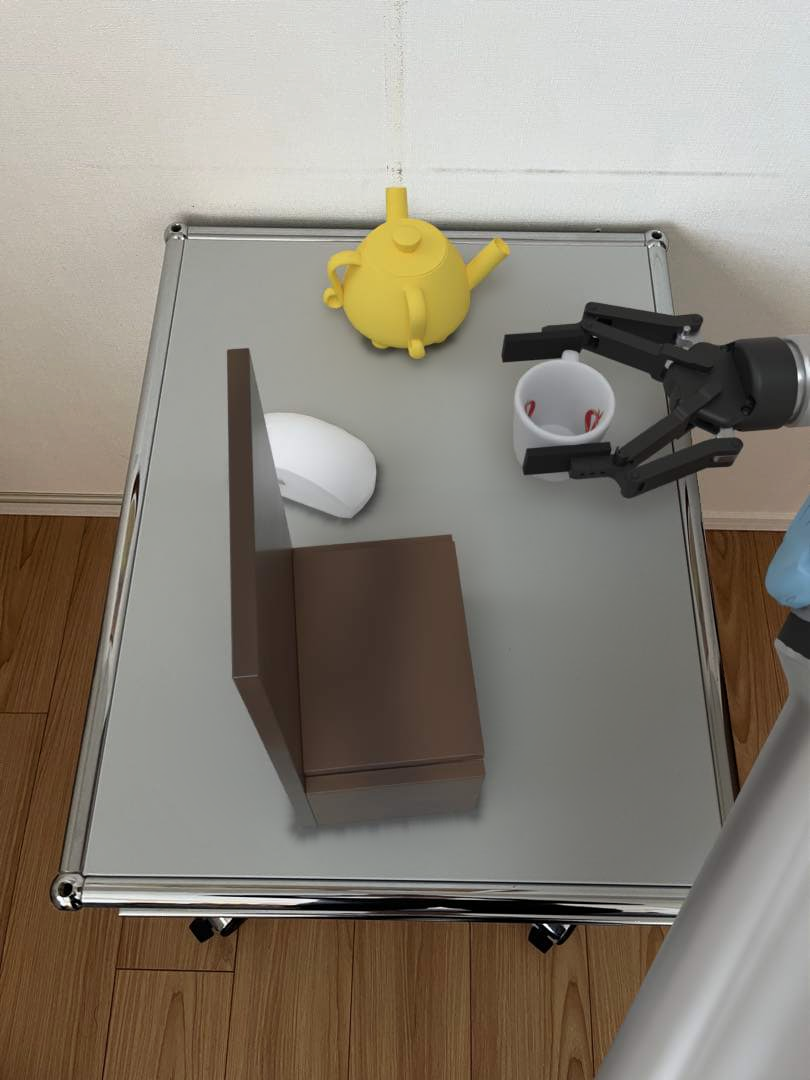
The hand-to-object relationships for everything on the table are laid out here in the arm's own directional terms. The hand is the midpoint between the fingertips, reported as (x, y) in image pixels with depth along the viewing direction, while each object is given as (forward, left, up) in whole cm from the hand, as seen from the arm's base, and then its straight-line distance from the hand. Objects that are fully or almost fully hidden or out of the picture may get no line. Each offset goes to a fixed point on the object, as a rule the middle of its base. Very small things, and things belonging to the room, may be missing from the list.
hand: (513, 403), depth 75 cm
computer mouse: (+10, +14, -12) cm, 21 cm away
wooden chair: (-12, +20, -12) cm, 26 cm away
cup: (-2, -4, -6) cm, 7 cm away
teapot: (+21, -5, -12) cm, 25 cm away
